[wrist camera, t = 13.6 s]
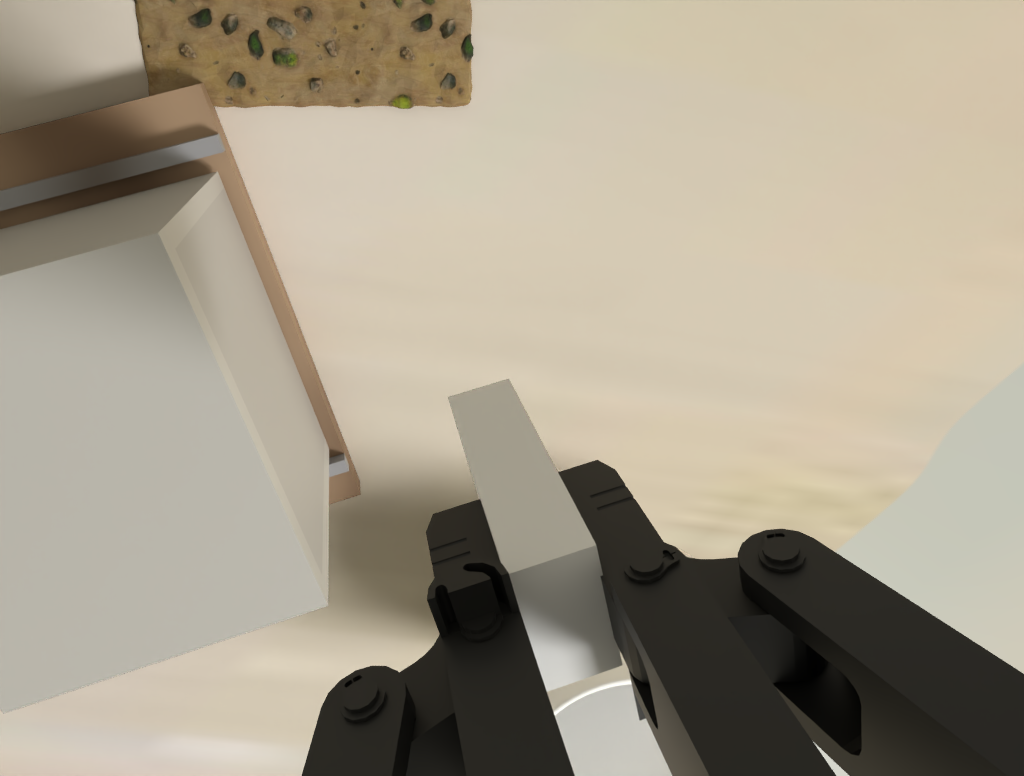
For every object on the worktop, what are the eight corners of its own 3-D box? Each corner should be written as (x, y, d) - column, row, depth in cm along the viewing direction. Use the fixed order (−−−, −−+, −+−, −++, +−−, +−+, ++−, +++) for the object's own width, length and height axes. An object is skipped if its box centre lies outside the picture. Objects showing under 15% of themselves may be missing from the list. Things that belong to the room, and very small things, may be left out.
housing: (99, 519, 31) (3, 713, 22) (-65, 246, 26) (-286, 353, 16) (329, 448, 32) (328, 606, 23) (217, 171, 27) (157, 232, 17)
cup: (444, 602, 39) (478, 767, 30) (621, 463, 38) (711, 591, 29) (534, 677, 43) (589, 844, 34) (698, 553, 42) (800, 691, 33)
